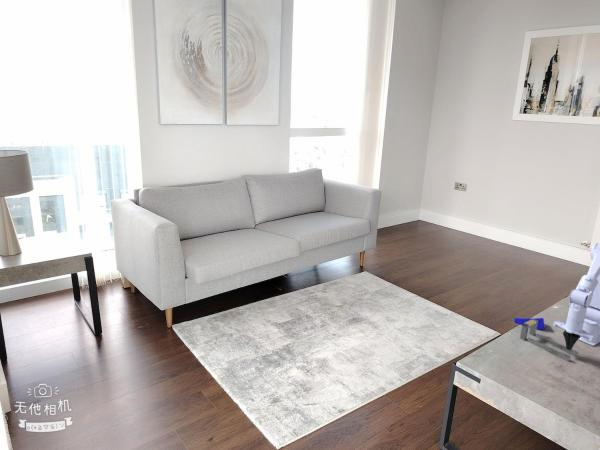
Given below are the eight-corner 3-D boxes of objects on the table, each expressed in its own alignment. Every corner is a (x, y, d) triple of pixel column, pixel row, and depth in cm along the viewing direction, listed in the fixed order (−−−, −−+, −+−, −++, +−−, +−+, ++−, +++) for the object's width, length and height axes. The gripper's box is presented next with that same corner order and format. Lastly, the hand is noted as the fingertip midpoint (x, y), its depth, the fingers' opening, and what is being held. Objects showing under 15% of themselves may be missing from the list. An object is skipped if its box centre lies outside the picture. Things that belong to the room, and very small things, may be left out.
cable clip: (544, 328, 191) (544, 327, 196) (543, 318, 192) (543, 317, 197) (515, 328, 197) (515, 327, 202) (514, 318, 198) (514, 317, 203)
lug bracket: (530, 334, 190) (533, 318, 188) (534, 336, 188) (538, 320, 186) (519, 339, 185) (522, 323, 183) (524, 341, 183) (527, 325, 181)
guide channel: (536, 337, 187) (537, 333, 187) (577, 356, 174) (578, 351, 173) (527, 342, 183) (527, 338, 183) (568, 361, 169) (569, 357, 169)
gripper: (552, 313, 173) (545, 343, 176) (591, 329, 161) (583, 360, 164) (560, 309, 176) (554, 338, 180) (599, 324, 165) (592, 355, 168)
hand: (569, 348), depth 172 cm, fingers closed
